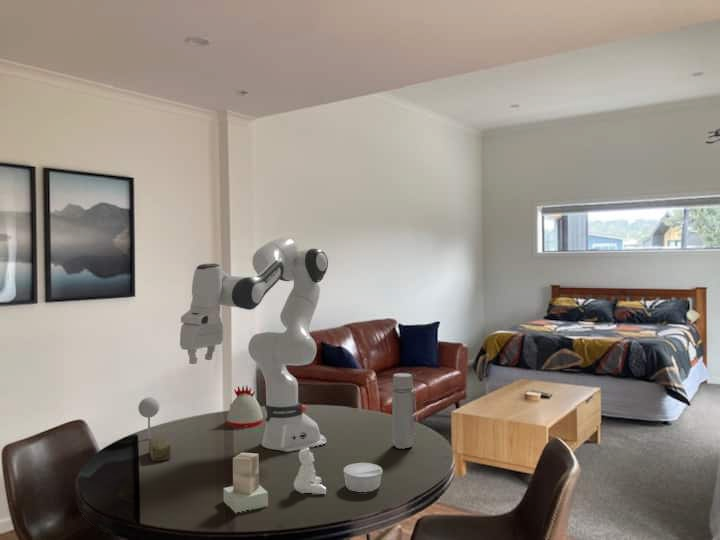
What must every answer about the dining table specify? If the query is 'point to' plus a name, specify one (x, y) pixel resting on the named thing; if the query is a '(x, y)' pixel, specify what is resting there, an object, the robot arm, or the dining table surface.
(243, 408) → the kitchen timer
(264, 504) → the sage block
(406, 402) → the water bottle
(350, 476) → the ramekin
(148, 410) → the lollipop
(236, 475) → the birch block
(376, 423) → the dining table surface
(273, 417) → the robot arm
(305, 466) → the seated beast figurine
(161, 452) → the stone block
